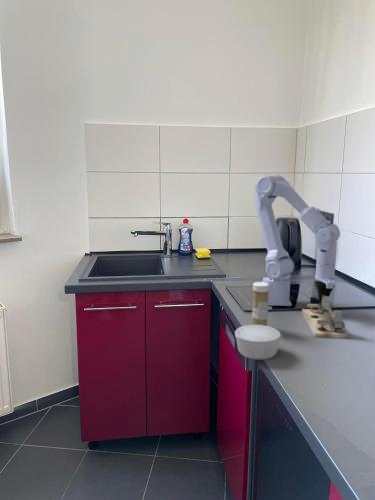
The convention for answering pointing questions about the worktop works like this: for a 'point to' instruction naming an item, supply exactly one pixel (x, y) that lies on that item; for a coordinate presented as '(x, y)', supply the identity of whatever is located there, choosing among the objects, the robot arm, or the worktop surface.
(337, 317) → the fixed leg
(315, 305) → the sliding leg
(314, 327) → the board
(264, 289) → the sprinkles bottle
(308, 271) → the worktop surface
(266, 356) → the ramekin
